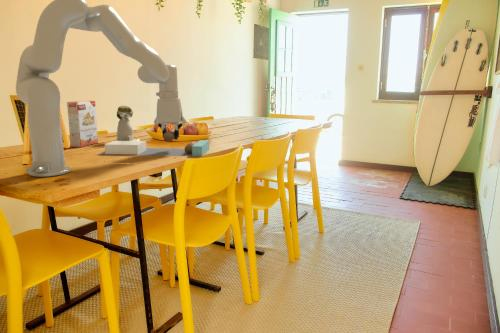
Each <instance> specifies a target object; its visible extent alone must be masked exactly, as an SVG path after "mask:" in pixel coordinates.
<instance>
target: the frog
mask: <svg viewBox="0 0 500 333" xmlns="http://www.w3.org/2000/svg"><path fill="white" fill-rule="evenodd" d="M133 114H134V111H133V109H132V107H130V106H127V105H121V106H119V107H117V111H116V117H117V118H118V119H119V121H118V123H117V129H116V139H114V140H113V141H142V140H141V139H140V138H137V139H135V137H133V134H134V129H133V125H132V122H131V120H130V118H132V117H133Z"/></svg>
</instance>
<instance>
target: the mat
mask: <svg viewBox="0 0 500 333" xmlns="http://www.w3.org/2000/svg"><path fill="white" fill-rule="evenodd" d="M98 155H101V156H102V155H107V156H110V155H113V156H136V155H135V154H105V150H104V151H102V152H99V153H98ZM137 156H156V157H157V156H158V157H159V156H160V157H163V156H164V157H166V156H168V157H193V156H192V154H187V153H186V152H185V148H163V147H162V148H161V147H159V148H158V147H157V148H156V147H154V148H153V147H152V148H151V147H146V151H144V152H142V153H140V154H138V155H137Z"/></svg>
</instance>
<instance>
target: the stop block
mask: <svg viewBox="0 0 500 333" xmlns="http://www.w3.org/2000/svg"><path fill="white" fill-rule="evenodd" d="M196 142H197V143H196V144H194V145H193V146H192V156H191V157H203V156H204V155H206V153H207V152H209V150H210V140H207V139H206V140H205V139H204V140H203V139H200V140H198V141H196Z"/></svg>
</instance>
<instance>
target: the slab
mask: <svg viewBox="0 0 500 333" xmlns="http://www.w3.org/2000/svg"><path fill="white" fill-rule="evenodd" d="M146 148H147V141H145V140H141V141H110V142H107V143H105V144H104V151H105V154H135V155H134V156H139V155H138V154H140V153H142V152H144V151H146Z"/></svg>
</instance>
